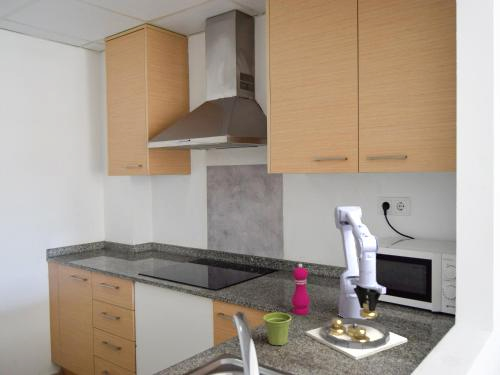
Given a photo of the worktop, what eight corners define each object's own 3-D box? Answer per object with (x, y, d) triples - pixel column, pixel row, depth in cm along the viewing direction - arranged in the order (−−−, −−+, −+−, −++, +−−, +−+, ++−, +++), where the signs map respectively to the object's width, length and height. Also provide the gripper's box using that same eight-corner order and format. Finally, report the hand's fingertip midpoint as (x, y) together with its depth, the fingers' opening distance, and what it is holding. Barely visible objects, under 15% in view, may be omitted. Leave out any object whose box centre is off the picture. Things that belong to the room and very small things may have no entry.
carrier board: (305, 334, 147) (305, 331, 147) (354, 320, 160) (354, 317, 160) (355, 360, 127) (355, 356, 127) (407, 341, 139) (407, 338, 139)
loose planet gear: (356, 315, 147) (355, 302, 147) (368, 310, 151) (367, 298, 150) (369, 320, 142) (368, 307, 142) (381, 315, 145) (380, 303, 145)
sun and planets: (325, 331, 147) (324, 318, 147) (343, 326, 152) (342, 313, 151) (360, 348, 133) (360, 334, 133) (379, 341, 137) (379, 328, 137)
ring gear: (308, 331, 147) (308, 326, 147) (354, 318, 159) (354, 313, 158) (355, 355, 128) (355, 348, 128) (403, 338, 139) (403, 332, 139)
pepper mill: (290, 314, 168) (289, 265, 167) (294, 308, 175) (293, 261, 174) (307, 316, 166) (307, 266, 165) (311, 310, 172) (310, 262, 171)
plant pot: (271, 350, 135) (271, 324, 134) (259, 339, 143) (259, 315, 143) (296, 345, 138) (296, 319, 138) (283, 335, 147) (283, 310, 147)
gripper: (391, 273, 141) (392, 312, 142) (360, 265, 154) (360, 301, 154) (377, 276, 138) (377, 316, 138) (346, 268, 150) (346, 305, 151)
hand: (367, 309), depth 146 cm, fingers closed on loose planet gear, 4 cm apart
